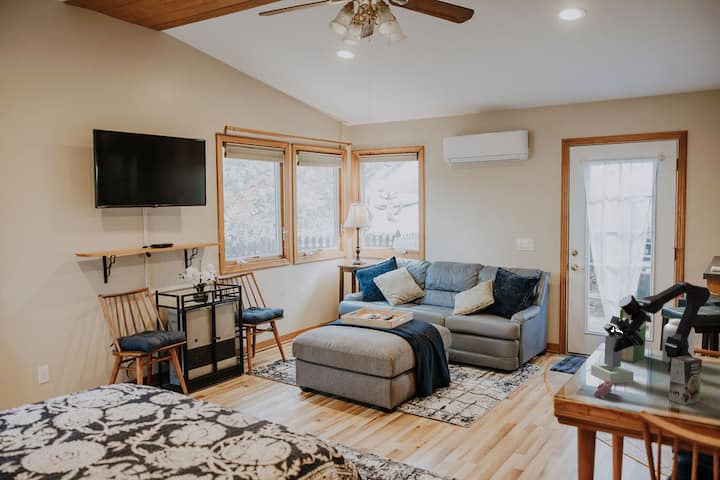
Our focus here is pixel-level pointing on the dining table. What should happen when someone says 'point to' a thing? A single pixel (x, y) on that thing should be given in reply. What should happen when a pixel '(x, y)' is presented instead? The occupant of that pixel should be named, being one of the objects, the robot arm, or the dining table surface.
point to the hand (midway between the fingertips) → (610, 349)
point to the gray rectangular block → (612, 351)
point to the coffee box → (685, 380)
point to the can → (671, 330)
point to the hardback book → (635, 351)
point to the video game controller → (604, 388)
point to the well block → (612, 373)
